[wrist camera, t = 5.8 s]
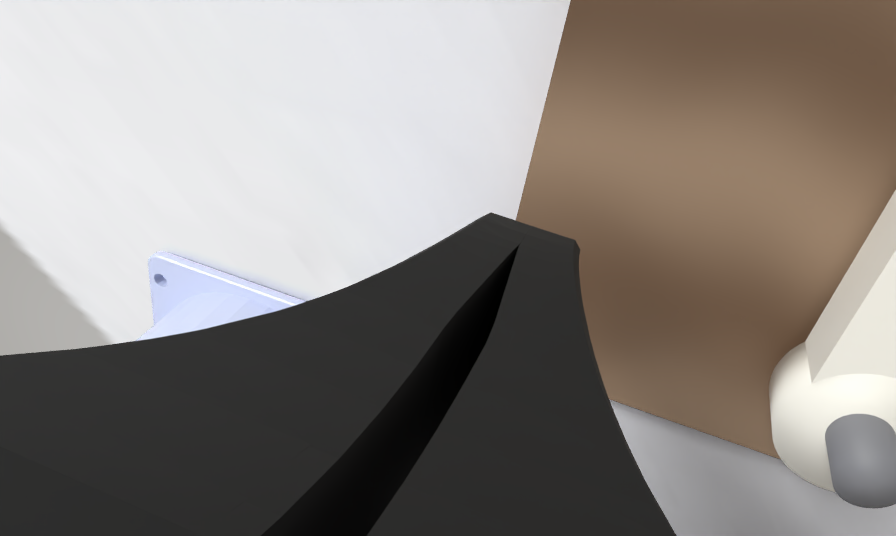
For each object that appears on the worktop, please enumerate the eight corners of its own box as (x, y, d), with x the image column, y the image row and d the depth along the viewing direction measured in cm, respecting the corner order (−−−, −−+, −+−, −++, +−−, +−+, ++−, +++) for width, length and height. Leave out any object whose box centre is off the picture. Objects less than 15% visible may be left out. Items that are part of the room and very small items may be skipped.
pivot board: (982, 504, 19) (993, 534, 18) (491, 335, 21) (482, 354, 21) (1927, -504, 8) (2059, -541, 7) (729, -600, 11) (730, -636, 10)
